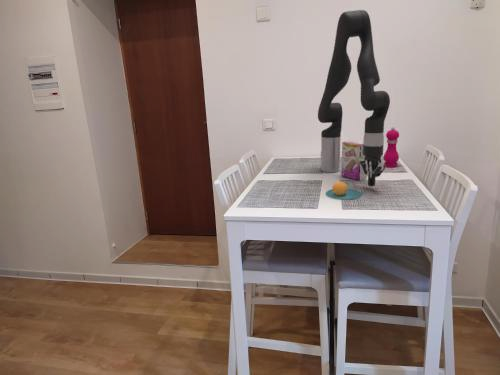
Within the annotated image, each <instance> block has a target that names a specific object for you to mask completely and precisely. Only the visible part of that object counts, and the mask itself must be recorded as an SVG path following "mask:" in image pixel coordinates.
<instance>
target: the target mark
mask: <svg viewBox="0 0 500 375" xmlns="http://www.w3.org/2000/svg"><path fill="white" fill-rule="evenodd" d="M325 196H326V197H328V198H331V199H335V200H341V201H342V200H343V201H346V200H347V201H351V200H356V199H359V198H361V197H362V196H363V193H362V192H361V191H360V190H357V189H354V188H348V187H347V191H346V193H345V194H344V195H342V196H338V195H336V194H334V192H333V190H332V189H329V190H327V191H326V192H325Z"/></svg>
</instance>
